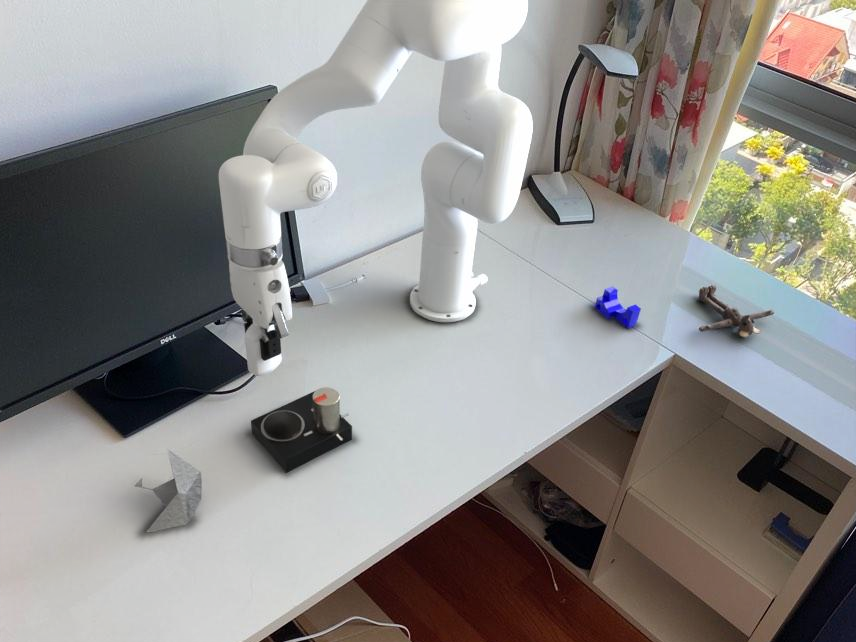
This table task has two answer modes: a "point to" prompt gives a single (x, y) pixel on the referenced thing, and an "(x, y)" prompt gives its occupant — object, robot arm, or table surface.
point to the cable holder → (616, 308)
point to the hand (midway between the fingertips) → (263, 347)
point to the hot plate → (302, 436)
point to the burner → (282, 426)
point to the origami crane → (177, 495)
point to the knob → (326, 410)
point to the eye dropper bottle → (258, 352)
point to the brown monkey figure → (730, 314)
